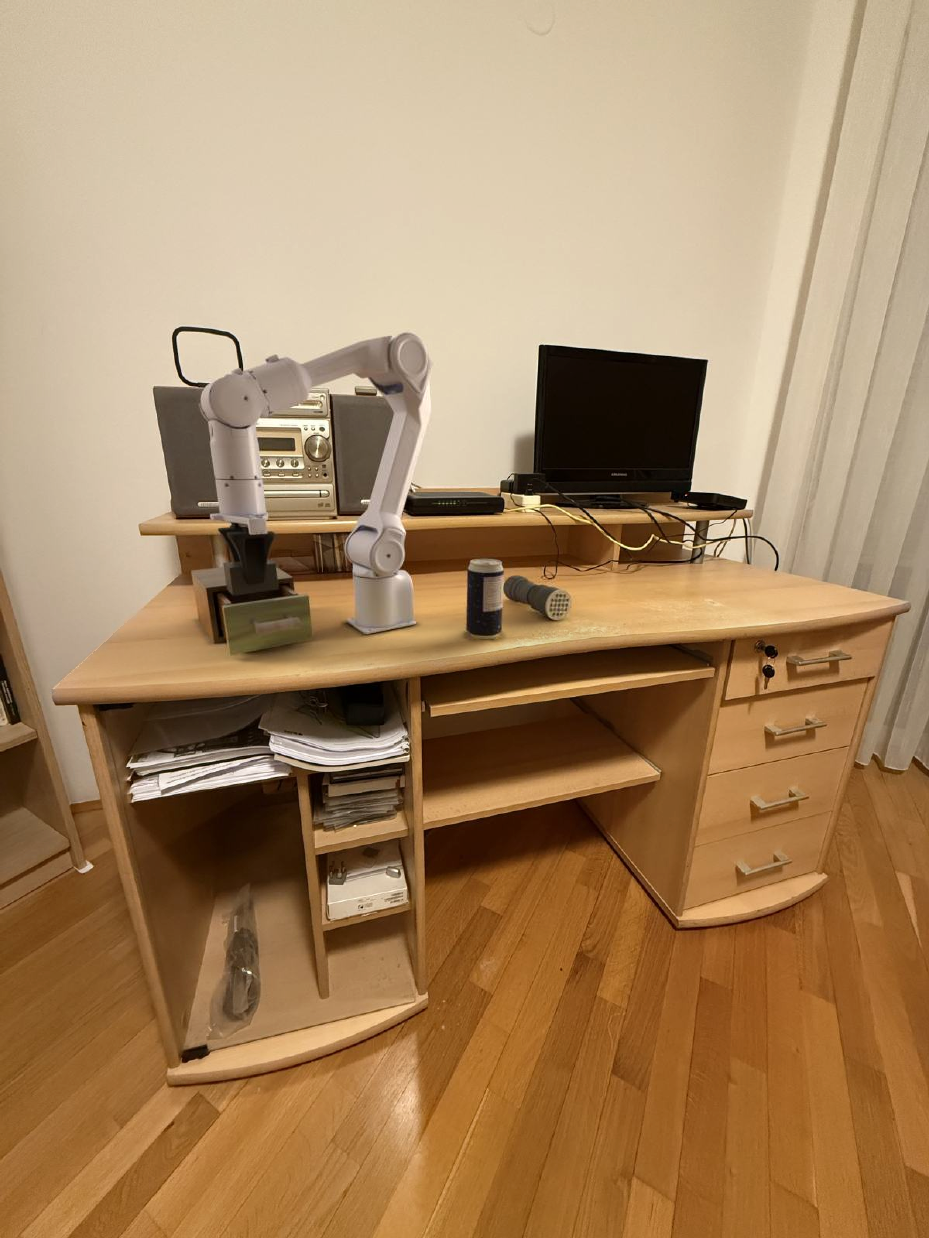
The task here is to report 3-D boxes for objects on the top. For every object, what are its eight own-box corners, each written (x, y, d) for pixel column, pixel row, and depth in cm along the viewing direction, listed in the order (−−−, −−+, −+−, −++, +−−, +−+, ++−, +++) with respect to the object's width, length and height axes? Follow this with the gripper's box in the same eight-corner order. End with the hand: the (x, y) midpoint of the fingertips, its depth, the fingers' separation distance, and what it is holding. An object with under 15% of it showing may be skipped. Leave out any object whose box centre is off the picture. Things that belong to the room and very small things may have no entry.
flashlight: (499, 600, 99) (500, 574, 97) (522, 597, 101) (523, 571, 99) (546, 621, 86) (548, 592, 84) (570, 617, 88) (572, 588, 87)
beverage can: (499, 629, 82) (502, 558, 78) (503, 641, 76) (506, 565, 73) (465, 628, 82) (466, 557, 78) (466, 640, 76) (468, 565, 72)
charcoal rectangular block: (270, 583, 72) (267, 558, 71) (278, 589, 69) (275, 563, 68) (226, 589, 69) (223, 562, 68) (233, 595, 66) (229, 568, 65)
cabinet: (298, 628, 80) (293, 577, 78) (214, 643, 73) (205, 587, 71) (274, 608, 91) (269, 562, 88) (198, 619, 84) (190, 570, 81)
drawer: (323, 648, 70) (320, 603, 67) (238, 666, 63) (231, 616, 61) (286, 617, 83) (282, 578, 81) (212, 630, 76) (206, 587, 74)
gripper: (196, 477, 68) (210, 573, 72) (216, 482, 56) (232, 595, 61) (250, 476, 72) (260, 567, 76) (279, 481, 60) (289, 587, 65)
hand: (251, 579), depth 69 cm, fingers closed on charcoal rectangular block, 4 cm apart
